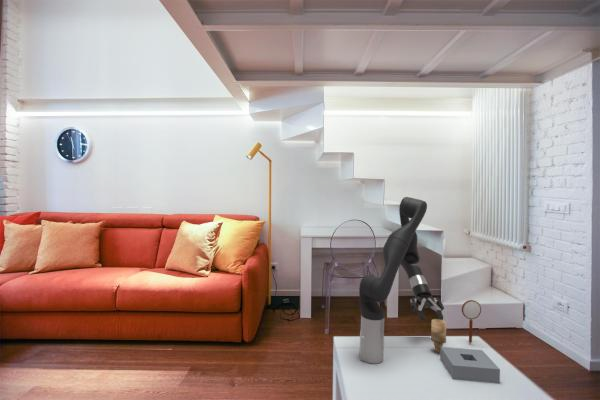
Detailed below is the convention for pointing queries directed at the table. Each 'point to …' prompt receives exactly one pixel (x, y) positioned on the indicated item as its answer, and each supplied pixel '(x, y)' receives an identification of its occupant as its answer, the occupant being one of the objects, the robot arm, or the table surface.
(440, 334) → the peg
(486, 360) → the board
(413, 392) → the table surface
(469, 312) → the magnifying glass
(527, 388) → the table surface
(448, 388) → the table surface
